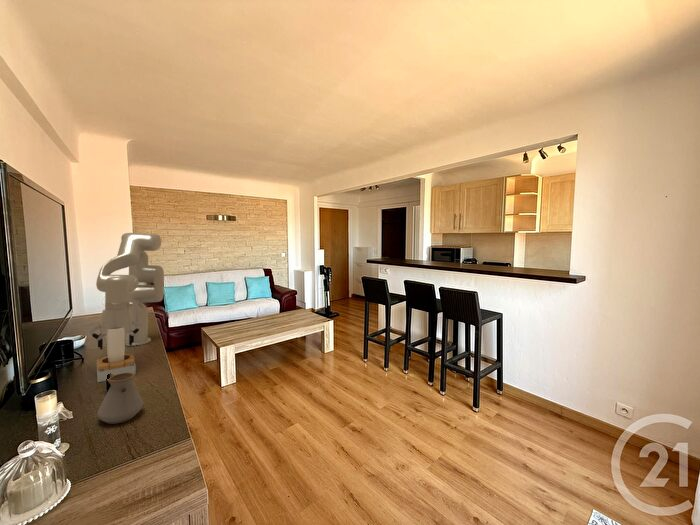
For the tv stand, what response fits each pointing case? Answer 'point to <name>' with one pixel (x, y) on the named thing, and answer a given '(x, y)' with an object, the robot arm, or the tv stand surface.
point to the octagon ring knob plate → (115, 367)
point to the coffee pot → (120, 400)
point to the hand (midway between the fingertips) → (116, 346)
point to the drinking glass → (115, 344)
